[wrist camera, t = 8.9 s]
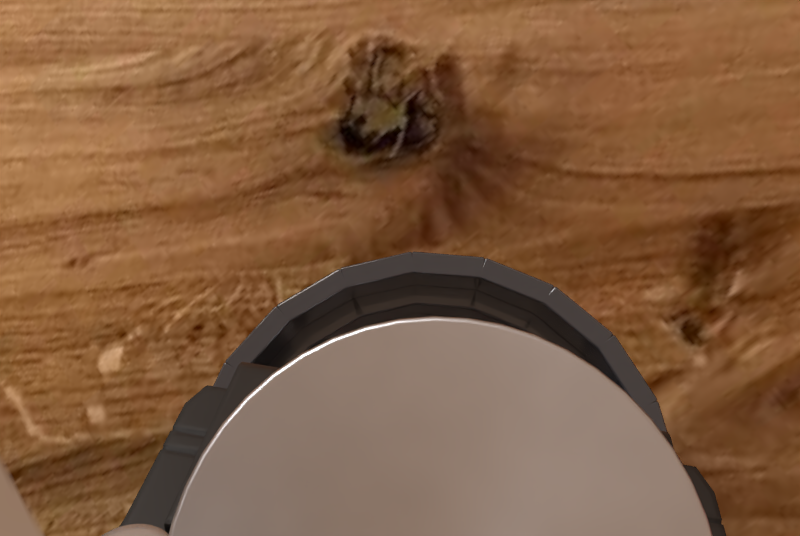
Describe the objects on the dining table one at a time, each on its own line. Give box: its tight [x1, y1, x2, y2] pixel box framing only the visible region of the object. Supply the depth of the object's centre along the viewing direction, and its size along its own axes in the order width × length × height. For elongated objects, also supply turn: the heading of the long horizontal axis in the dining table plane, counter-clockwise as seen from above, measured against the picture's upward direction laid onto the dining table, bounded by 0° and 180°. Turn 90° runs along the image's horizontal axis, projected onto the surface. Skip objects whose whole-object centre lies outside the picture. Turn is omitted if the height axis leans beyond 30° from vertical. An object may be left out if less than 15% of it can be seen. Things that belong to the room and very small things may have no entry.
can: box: [169, 316, 712, 536], centre depth 13 cm, size 6×6×10 cm
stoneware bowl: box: [213, 252, 667, 432], centre depth 22 cm, size 13×13×4 cm
